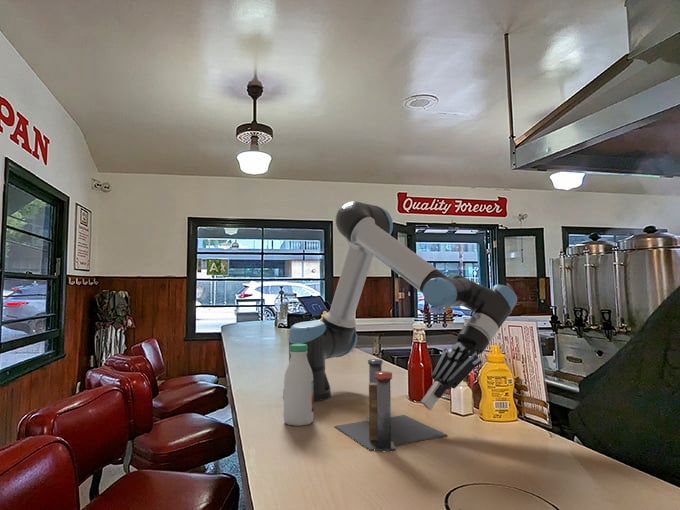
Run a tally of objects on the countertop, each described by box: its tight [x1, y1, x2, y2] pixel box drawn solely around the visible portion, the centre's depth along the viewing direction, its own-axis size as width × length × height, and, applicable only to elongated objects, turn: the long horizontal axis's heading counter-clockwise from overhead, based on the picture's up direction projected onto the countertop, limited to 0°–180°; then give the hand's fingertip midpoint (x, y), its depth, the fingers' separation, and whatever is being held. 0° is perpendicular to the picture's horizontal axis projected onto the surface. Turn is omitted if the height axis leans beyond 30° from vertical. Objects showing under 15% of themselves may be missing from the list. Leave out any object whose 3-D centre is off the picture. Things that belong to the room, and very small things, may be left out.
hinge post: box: [366, 358, 384, 423], centre depth 118 cm, size 4×4×16 cm
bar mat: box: [334, 414, 448, 451], centre depth 110 cm, size 18×21×1 cm
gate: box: [368, 383, 377, 440], centre depth 108 cm, size 14×2×12 cm, turn 175°
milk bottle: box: [283, 344, 315, 427], centre depth 118 cm, size 8×8×20 cm
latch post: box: [373, 370, 397, 453], centre depth 99 cm, size 4×4×16 cm
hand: (425, 405), depth 111 cm, fingers closed
